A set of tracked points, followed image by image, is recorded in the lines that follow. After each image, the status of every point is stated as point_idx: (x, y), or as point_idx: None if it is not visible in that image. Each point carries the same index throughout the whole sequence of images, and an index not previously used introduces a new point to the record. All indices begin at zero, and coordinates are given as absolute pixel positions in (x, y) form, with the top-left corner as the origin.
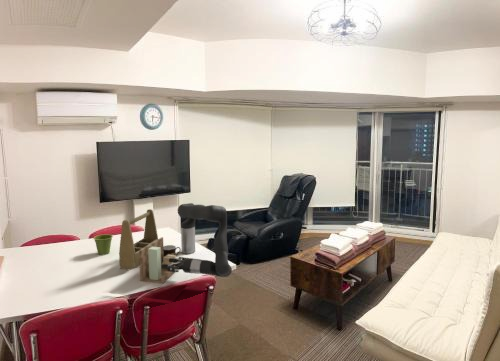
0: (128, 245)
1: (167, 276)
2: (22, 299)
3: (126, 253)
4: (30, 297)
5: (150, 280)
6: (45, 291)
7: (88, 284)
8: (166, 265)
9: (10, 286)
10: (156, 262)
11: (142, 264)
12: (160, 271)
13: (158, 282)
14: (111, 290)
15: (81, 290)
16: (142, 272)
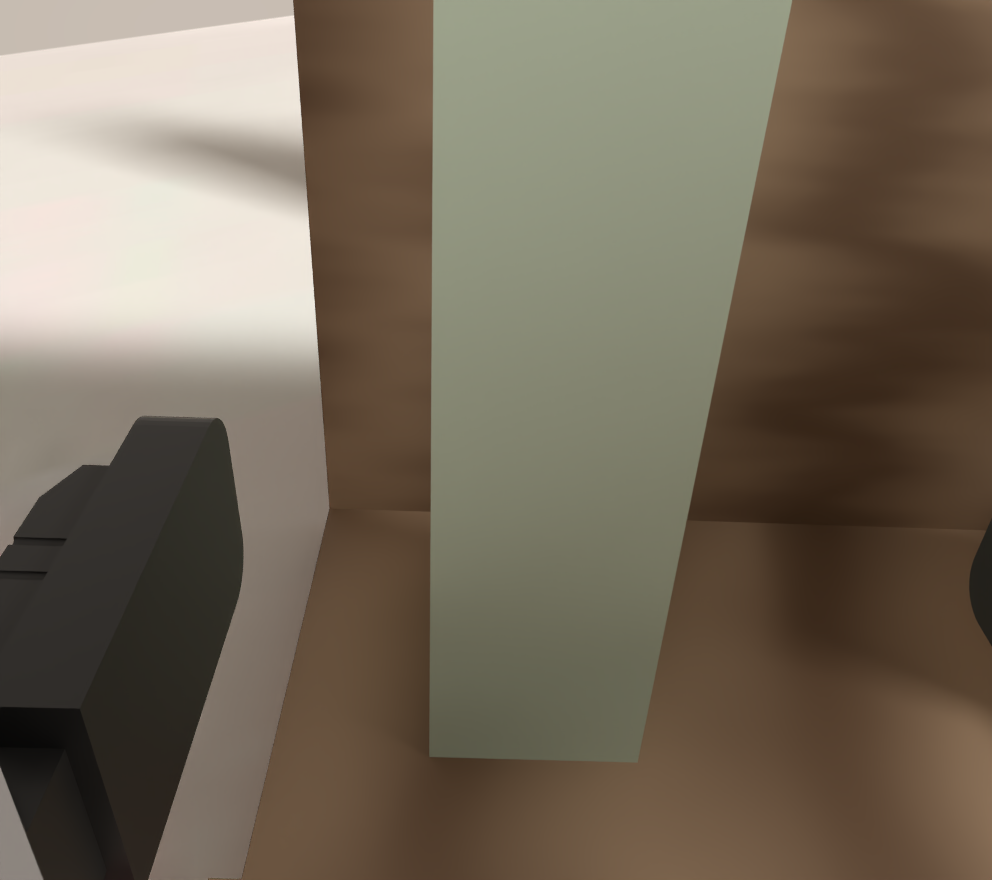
0: None
1: None
2: (3, 79)
3: None
4: (28, 88)
5: (384, 615)
6: (123, 101)
7: (256, 190)
8: (36, 644)
9: (215, 33)
10: (436, 261)
11: (343, 160)
12: (608, 624)
13: (289, 831)
14: (73, 337)
15: (114, 193)
16: (340, 348)
